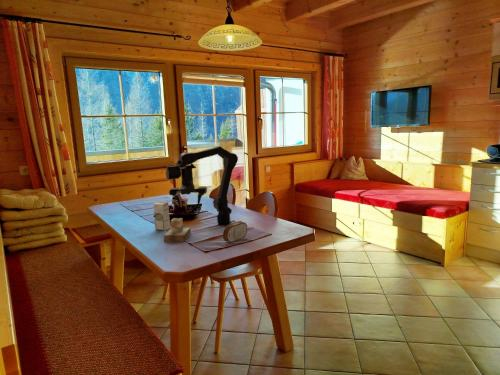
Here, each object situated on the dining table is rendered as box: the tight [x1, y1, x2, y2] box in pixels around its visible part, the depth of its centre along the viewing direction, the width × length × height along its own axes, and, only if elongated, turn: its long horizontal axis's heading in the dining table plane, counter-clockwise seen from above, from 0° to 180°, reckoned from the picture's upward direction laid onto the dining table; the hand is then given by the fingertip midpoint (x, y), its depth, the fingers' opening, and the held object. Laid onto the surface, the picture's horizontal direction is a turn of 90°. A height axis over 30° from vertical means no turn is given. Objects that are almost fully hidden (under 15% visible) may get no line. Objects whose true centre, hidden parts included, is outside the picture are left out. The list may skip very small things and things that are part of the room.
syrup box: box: [153, 201, 171, 231], centre depth 182 cm, size 6×6×14 cm
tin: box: [222, 220, 248, 244], centre depth 162 cm, size 15×3×8 cm, turn 141°
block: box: [170, 217, 184, 233], centre depth 167 cm, size 4×4×6 cm
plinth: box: [163, 227, 192, 243], centre depth 167 cm, size 10×12×3 cm
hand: (189, 206), depth 179 cm, fingers open, 9 cm apart
